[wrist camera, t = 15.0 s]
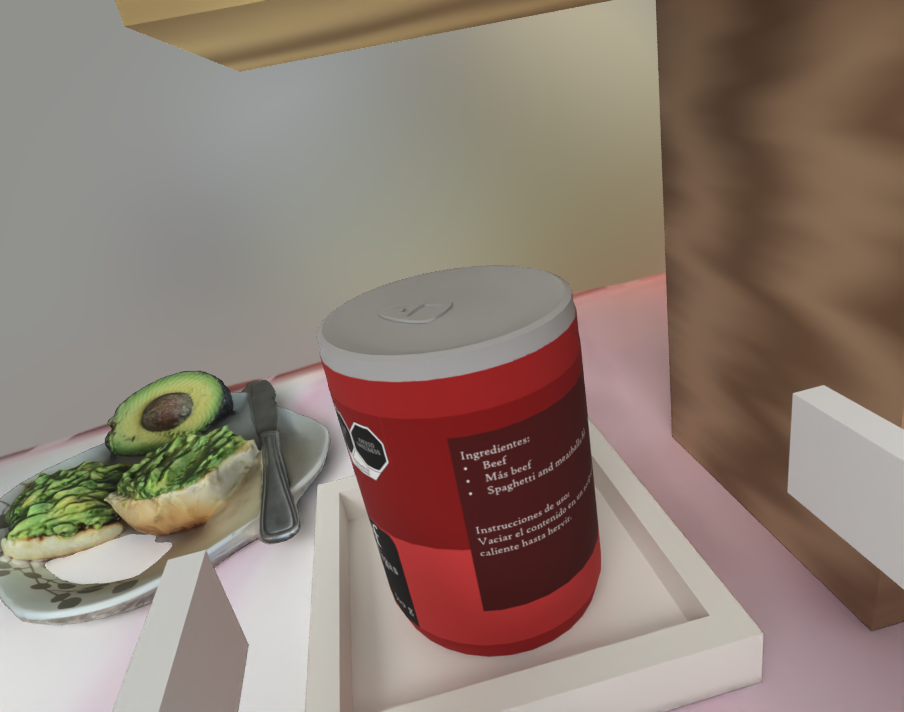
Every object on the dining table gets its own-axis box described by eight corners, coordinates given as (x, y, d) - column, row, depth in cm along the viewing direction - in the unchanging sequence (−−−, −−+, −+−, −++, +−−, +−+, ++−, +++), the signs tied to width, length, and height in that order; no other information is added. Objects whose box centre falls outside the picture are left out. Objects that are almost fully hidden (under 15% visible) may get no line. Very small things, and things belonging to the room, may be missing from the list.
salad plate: (430, 468, 31) (412, 391, 29) (61, 746, 20) (-5, 651, 18) (250, 392, 44) (230, 336, 42) (-31, 536, 33) (-76, 468, 32)
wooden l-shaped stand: (930, 613, 18) (1096, -234, 10) (392, 776, 17) (91, -65, 9) (710, 426, 29) (706, -57, 21) (371, 515, 28) (228, 31, 20)
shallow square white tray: (761, 682, 17) (763, 633, 17) (322, 815, 16) (301, 770, 16) (590, 451, 29) (586, 416, 29) (329, 519, 28) (317, 485, 27)
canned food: (426, 506, 27) (369, 275, 23) (608, 511, 25) (583, 252, 20) (361, 652, 21) (261, 366, 16) (600, 679, 18) (560, 350, 14)
